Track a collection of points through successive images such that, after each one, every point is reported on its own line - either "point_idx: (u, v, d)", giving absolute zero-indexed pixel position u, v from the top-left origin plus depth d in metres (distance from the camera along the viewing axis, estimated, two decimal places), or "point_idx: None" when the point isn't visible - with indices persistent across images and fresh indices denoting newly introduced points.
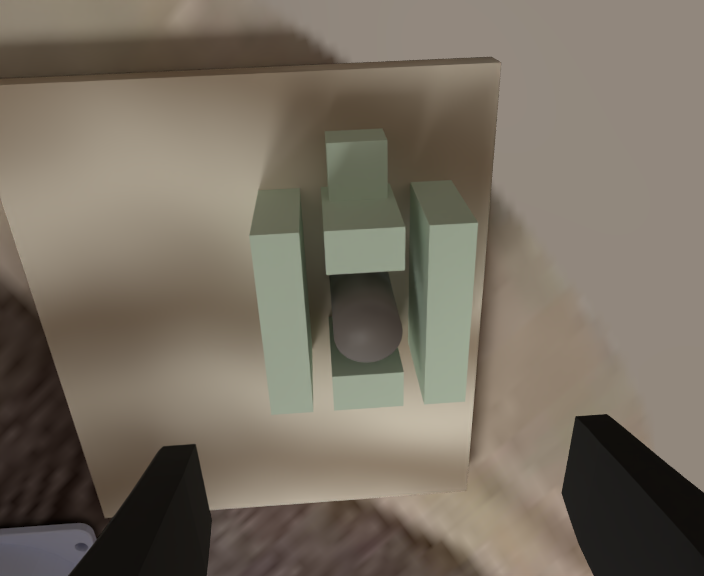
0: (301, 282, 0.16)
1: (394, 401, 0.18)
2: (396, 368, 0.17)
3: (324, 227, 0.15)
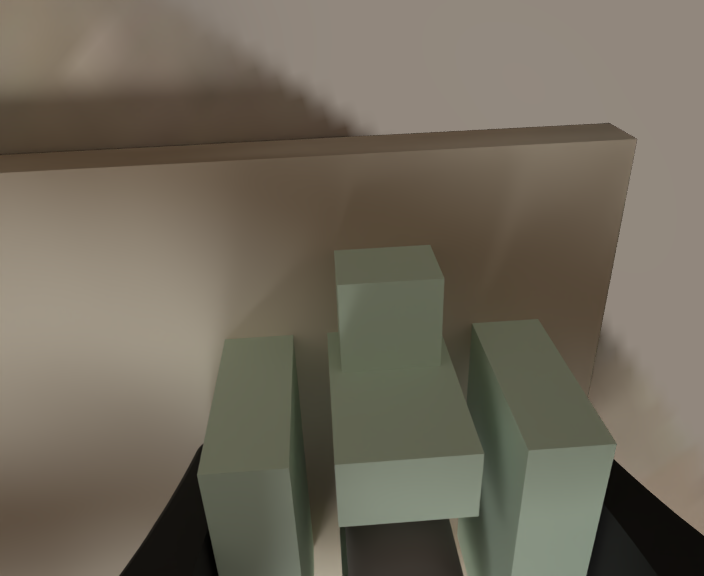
0: (294, 538, 0.09)
1: None
2: None
3: (335, 451, 0.08)
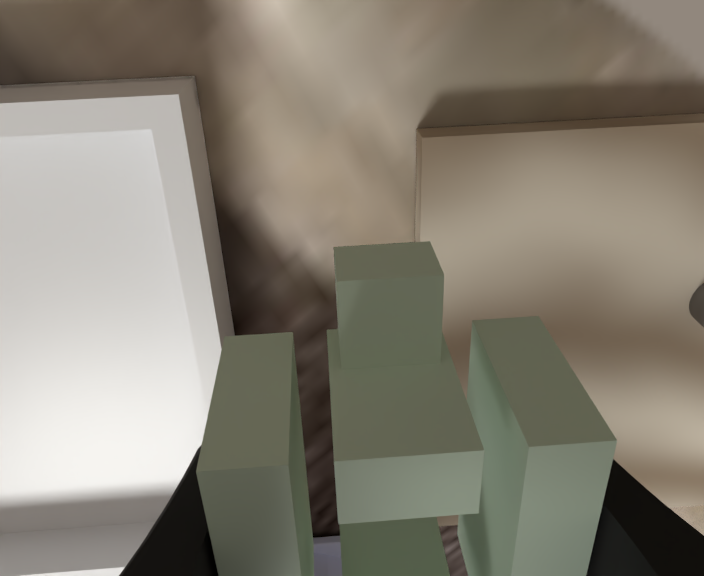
0: (293, 535, 0.09)
1: None
2: None
3: (335, 448, 0.08)
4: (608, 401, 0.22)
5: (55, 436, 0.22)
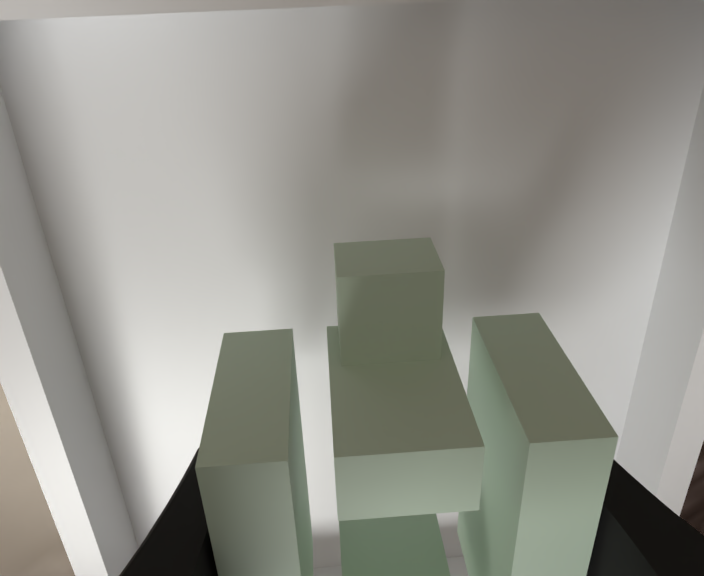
0: (293, 532, 0.09)
1: None
2: None
3: (335, 444, 0.08)
4: None
5: None
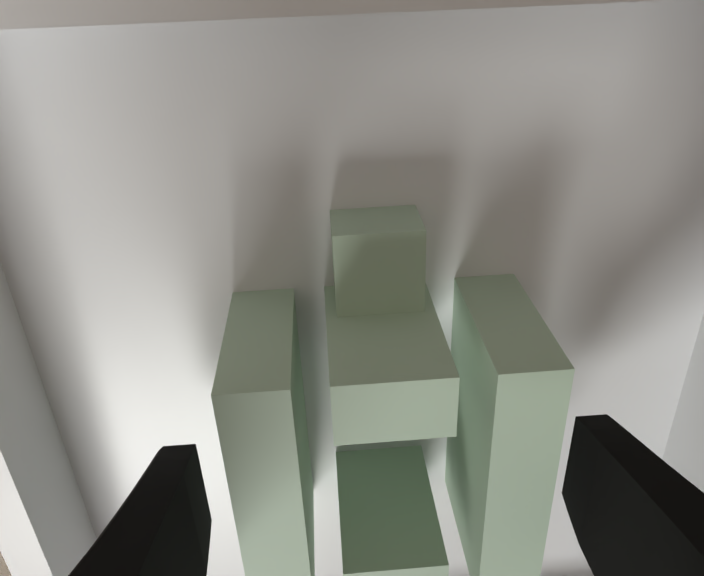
0: (295, 456, 0.10)
1: None
2: (437, 557, 0.12)
3: (330, 377, 0.10)
4: None
5: None
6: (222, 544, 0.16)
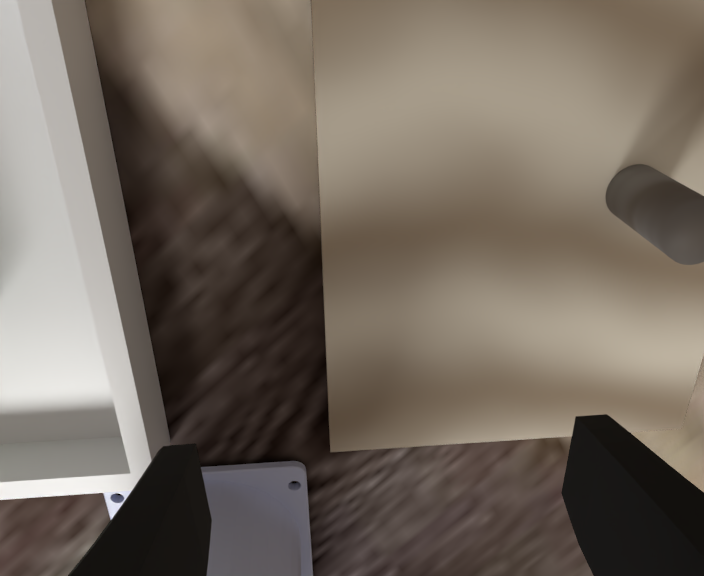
0: None
1: None
2: None
3: None
4: (528, 307, 0.21)
5: None
6: None
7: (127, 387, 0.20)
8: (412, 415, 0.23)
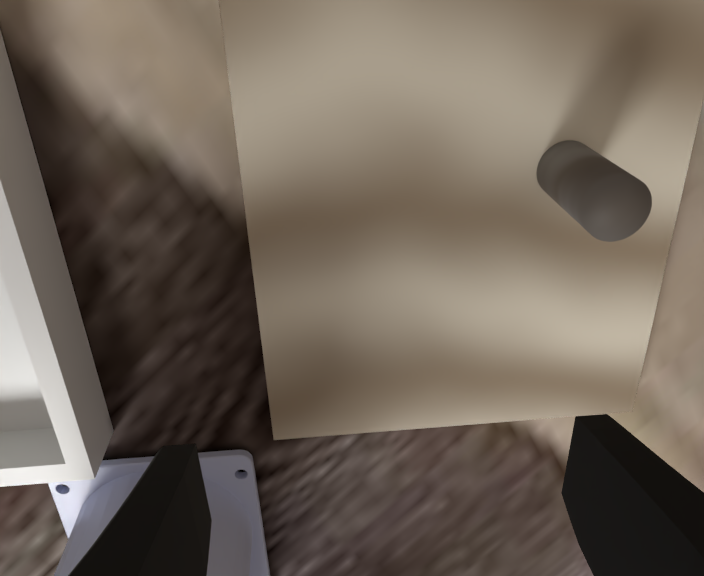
0: None
1: None
2: None
3: None
4: (464, 290, 0.21)
5: None
6: None
7: (54, 377, 0.20)
8: (354, 401, 0.23)
